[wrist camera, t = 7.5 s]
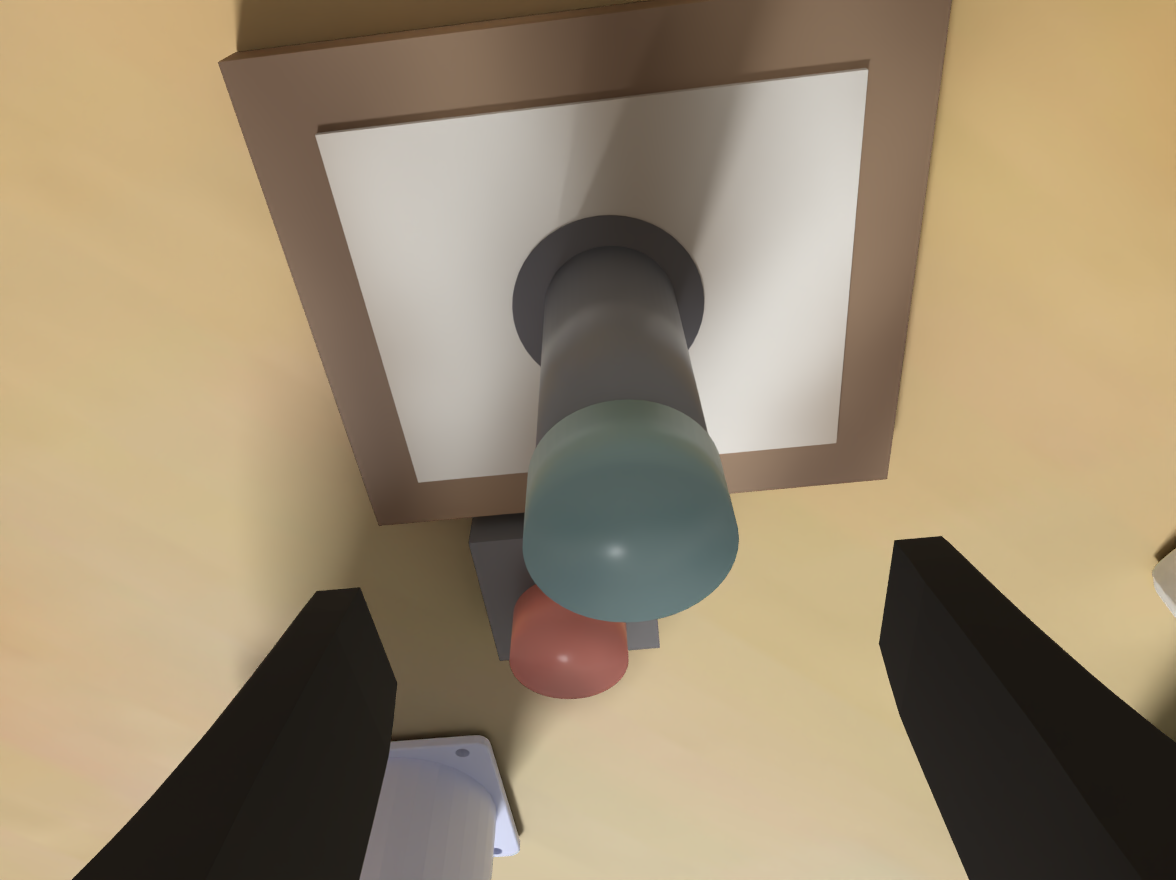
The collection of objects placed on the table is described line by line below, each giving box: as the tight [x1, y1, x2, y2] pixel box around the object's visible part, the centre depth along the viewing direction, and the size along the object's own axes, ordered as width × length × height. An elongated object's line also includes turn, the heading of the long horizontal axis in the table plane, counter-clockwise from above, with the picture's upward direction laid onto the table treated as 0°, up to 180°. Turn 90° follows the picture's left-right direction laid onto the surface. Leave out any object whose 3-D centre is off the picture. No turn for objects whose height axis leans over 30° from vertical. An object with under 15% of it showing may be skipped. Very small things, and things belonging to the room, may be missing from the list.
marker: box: [522, 246, 739, 622], centre depth 15 cm, size 3×3×8 cm
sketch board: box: [218, 0, 952, 526], centre depth 19 cm, size 14×12×1 cm
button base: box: [469, 512, 660, 661], centre depth 24 cm, size 5×5×2 cm
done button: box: [510, 584, 628, 699], centre depth 22 cm, size 3×3×2 cm
